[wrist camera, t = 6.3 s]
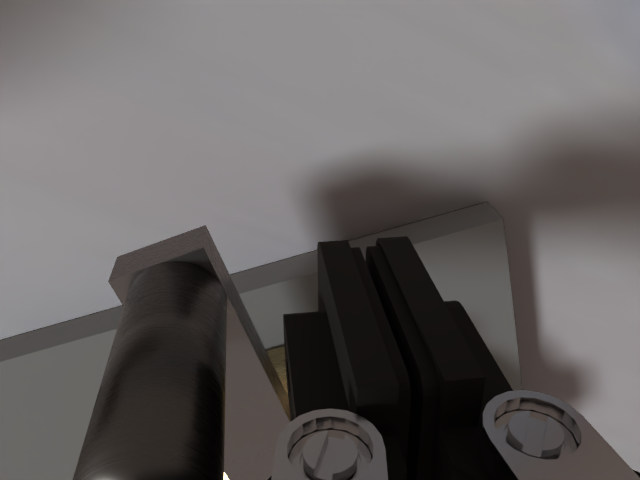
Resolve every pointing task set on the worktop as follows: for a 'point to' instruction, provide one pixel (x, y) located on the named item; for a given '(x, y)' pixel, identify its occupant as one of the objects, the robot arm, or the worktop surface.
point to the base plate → (267, 316)
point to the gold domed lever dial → (184, 374)
